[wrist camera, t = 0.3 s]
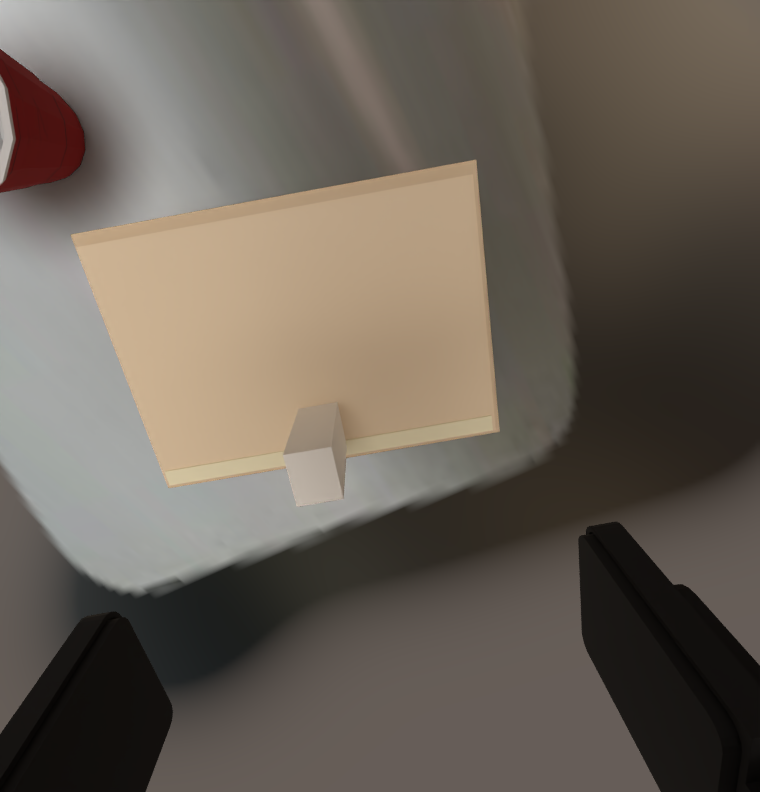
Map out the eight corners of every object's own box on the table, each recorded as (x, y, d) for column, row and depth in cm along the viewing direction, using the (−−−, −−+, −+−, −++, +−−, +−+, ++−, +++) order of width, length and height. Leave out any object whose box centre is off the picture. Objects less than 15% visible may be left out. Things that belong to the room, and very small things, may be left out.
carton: (146, 231, 34) (65, 234, 25) (447, 176, 34) (480, 157, 24) (211, 426, 40) (165, 489, 30) (469, 382, 39) (503, 431, 30)
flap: (81, 246, 25) (-11, 254, 19) (470, 175, 24) (507, 158, 18) (171, 481, 30) (122, 548, 24) (493, 426, 30) (528, 480, 23)
